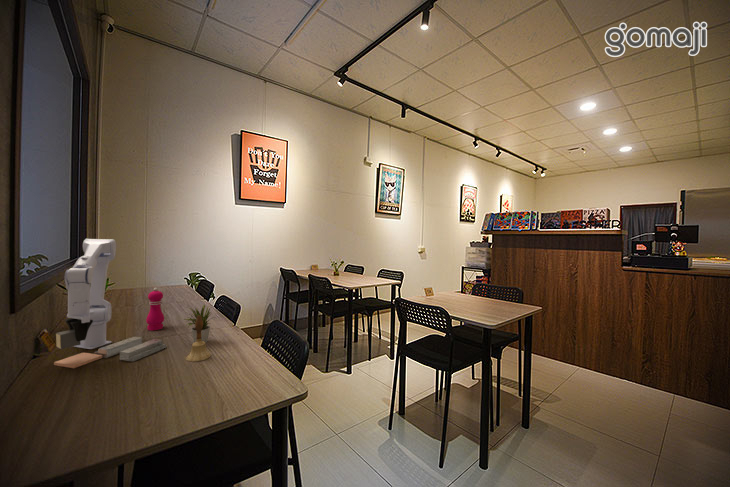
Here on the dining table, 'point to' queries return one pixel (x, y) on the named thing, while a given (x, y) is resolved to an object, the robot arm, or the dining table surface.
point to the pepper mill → (155, 311)
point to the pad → (77, 360)
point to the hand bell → (198, 344)
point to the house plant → (205, 328)
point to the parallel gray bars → (131, 349)
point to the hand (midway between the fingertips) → (78, 339)
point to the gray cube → (66, 339)
